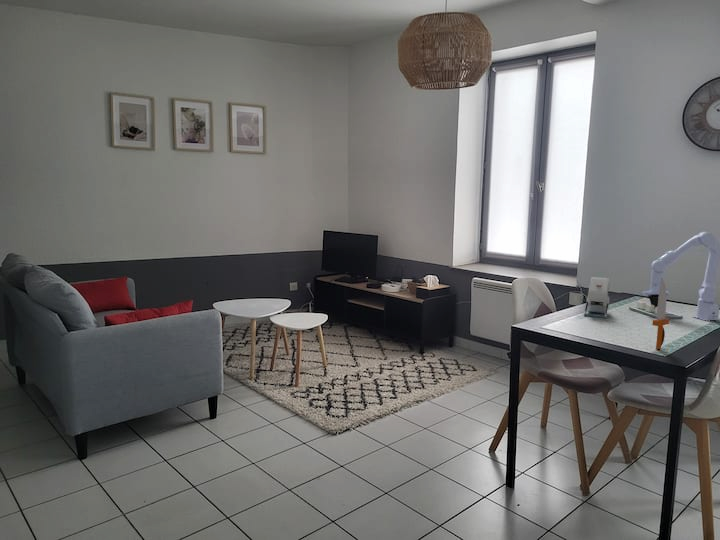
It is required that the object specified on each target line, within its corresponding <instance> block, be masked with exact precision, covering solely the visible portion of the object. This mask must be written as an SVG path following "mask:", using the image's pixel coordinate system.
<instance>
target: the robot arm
mask: <svg viewBox="0 0 720 540" xmlns="http://www.w3.org/2000/svg"><path fill="white" fill-rule="evenodd" d="M701 245H702V246H704V247H705V248H706V249H707V250H708V251H709V252H708V258H707V263H706V268H705V272H704V277H703V282H702V283H701V287H700V288H699V290H698V291H697V292H698V294H697V295H698V297H699V298H698V299H697V305H696V306H697V307H696V315H692V316H691V317H693V318H695V317H696V319H698V318H699V320H702V321H705V320H706V322H709V321H710V320H716V321H720V318H719V315H720V314H719V313H720V306H719V304H717V303H715V301H716V298H717V294H716V281H717V280H716V279H717V275H718V271H719V264H720V242H719V241H718V238H717V237H716V236H715V235H714V234H713V233H711V232H708V231H700V232H699V233H698V234H696V235H694V236H693V237H691V238H689V239H688V240H686V241H685V242H684V243H683V244H681V245H680V246H679V247H678V248H676V249H675V250H669V251H665V254H663V255H662V256H661V257H658V258H657V260H653V262H652V263H651V265H650V267H651V274H650V285H649V290H645V291H641V296H644V297H646V296H647V298H648V299H649V302H650V304H652V305H655V306H654V309H655V307H658V297H659V290H660V283H661V277H662V278H663V279H664V276H665V275H664V271H665V270H666V268H667V267H669V266H670V265H672V264H674V263H675V262H676V261H678V260H679V258H680V256H681V255H683V254H684V253H686V252H687V251H688V250H690V249H691V248H693V247H697V246H701ZM669 295H670V291H668V290H666V296H669ZM710 322H711V321H710Z"/></svg>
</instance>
